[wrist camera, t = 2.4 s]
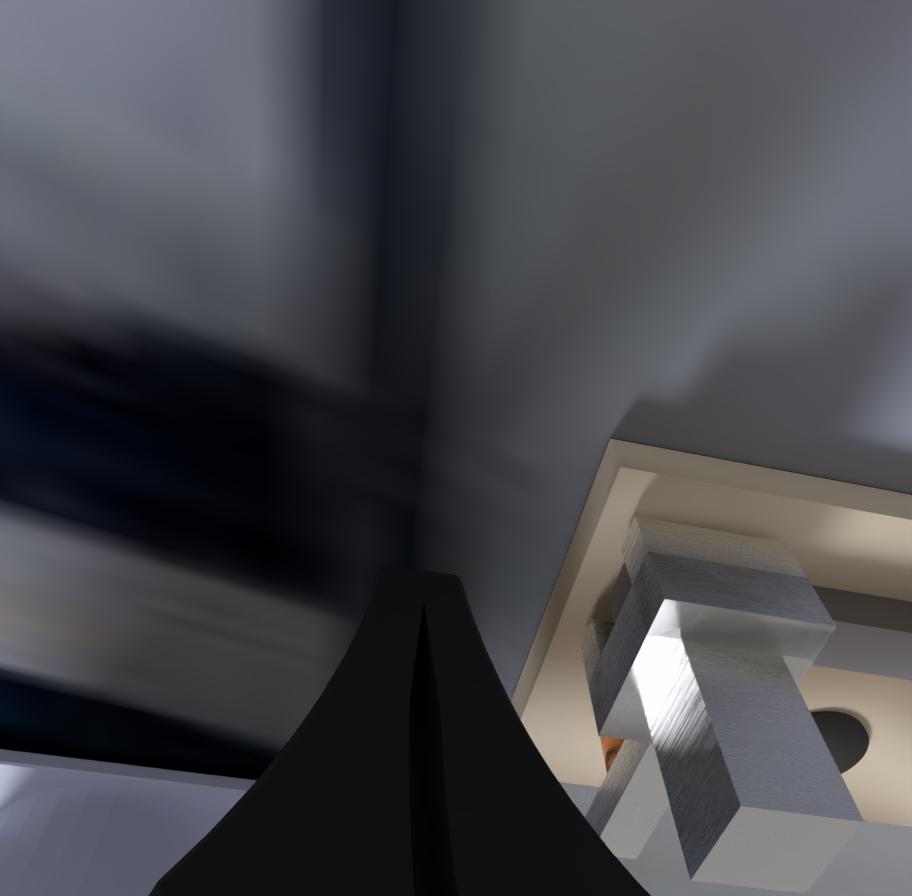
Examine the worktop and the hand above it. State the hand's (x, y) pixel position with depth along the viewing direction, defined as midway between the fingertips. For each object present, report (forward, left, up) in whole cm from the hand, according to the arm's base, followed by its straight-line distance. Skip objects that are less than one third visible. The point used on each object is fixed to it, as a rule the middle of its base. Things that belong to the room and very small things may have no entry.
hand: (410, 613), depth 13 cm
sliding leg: (-2, -5, -2) cm, 6 cm away
